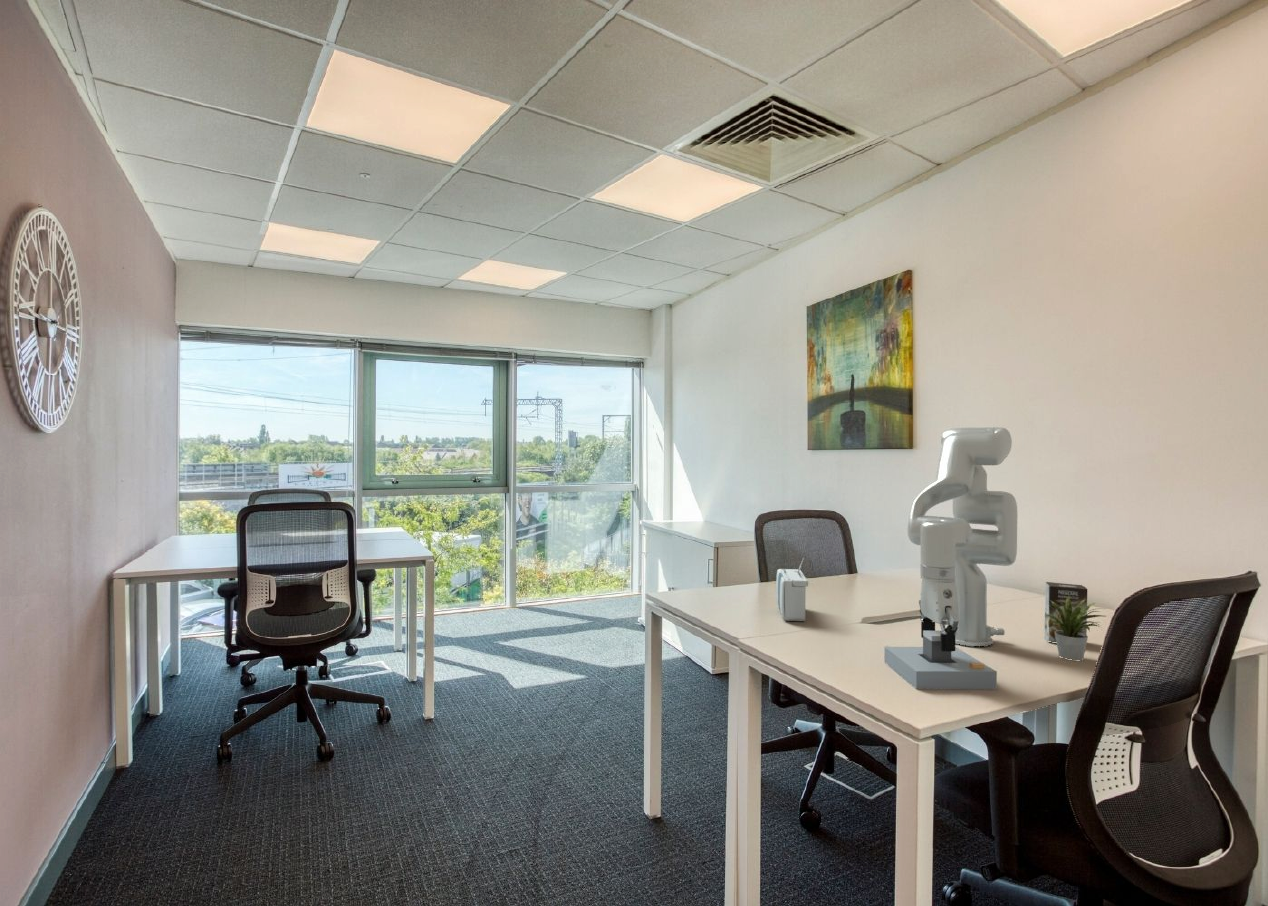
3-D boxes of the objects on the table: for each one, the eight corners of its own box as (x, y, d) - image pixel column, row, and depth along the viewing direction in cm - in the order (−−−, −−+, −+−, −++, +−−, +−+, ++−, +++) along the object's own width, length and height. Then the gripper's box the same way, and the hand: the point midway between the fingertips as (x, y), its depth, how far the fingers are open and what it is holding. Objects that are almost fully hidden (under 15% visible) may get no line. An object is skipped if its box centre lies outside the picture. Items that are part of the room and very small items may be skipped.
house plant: (1080, 671, 154) (1080, 604, 154) (1025, 654, 167) (1025, 592, 167) (1116, 664, 160) (1116, 599, 160) (1060, 648, 173) (1061, 588, 173)
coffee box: (1047, 643, 177) (1048, 585, 177) (1044, 637, 183) (1044, 581, 183) (1087, 647, 174) (1087, 588, 174) (1082, 641, 179) (1082, 584, 179)
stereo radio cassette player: (775, 606, 219) (776, 548, 219) (800, 607, 218) (800, 548, 218) (781, 622, 199) (781, 558, 199) (808, 623, 197) (808, 559, 197)
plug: (942, 672, 154) (942, 630, 154) (951, 678, 149) (951, 636, 149) (922, 671, 154) (923, 630, 154) (931, 678, 149) (931, 636, 149)
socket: (955, 662, 160) (955, 643, 160) (996, 689, 142) (996, 668, 142) (884, 662, 160) (884, 643, 160) (916, 689, 142) (916, 667, 142)
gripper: (972, 580, 143) (972, 656, 143) (936, 565, 160) (936, 633, 160) (939, 580, 143) (939, 656, 143) (906, 566, 160) (906, 633, 160)
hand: (937, 644), depth 152 cm, fingers open, 9 cm apart
